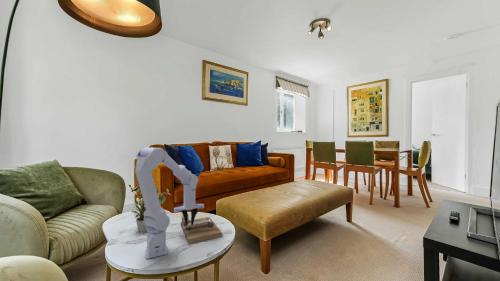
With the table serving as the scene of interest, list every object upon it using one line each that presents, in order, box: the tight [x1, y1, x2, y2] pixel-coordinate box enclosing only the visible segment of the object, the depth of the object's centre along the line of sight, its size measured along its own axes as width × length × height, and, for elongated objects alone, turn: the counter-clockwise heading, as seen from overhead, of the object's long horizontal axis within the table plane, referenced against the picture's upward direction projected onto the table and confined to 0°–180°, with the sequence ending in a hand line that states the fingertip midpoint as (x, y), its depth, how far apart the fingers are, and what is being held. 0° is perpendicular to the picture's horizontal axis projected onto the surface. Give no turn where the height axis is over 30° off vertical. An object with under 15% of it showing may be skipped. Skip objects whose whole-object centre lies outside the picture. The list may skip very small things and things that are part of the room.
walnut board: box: [180, 216, 223, 245], centre depth 104 cm, size 22×16×5 cm
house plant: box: [130, 198, 147, 233], centre depth 102 cm, size 14×14×16 cm
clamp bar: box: [186, 218, 213, 228], centre depth 104 cm, size 4×13×2 cm, turn 118°
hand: (189, 224), depth 101 cm, fingers closed on clamp bar, 2 cm apart
